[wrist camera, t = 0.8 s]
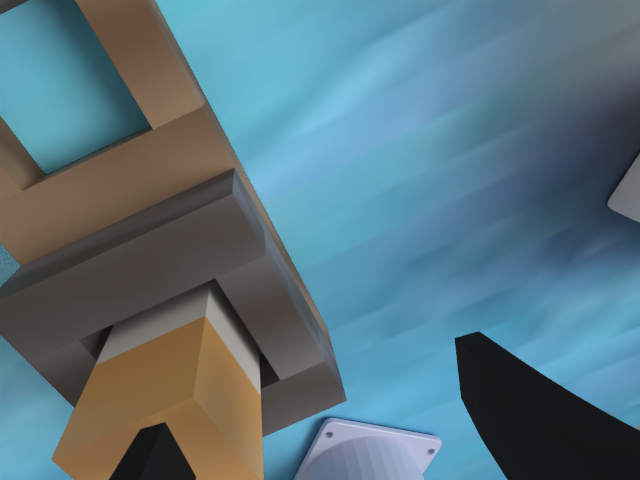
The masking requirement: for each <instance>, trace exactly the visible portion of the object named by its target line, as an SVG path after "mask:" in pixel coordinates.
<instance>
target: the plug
mask: <svg viewBox="0 0 640 480" xmlns="http://www.w3.org/2000/svg"><path fill="white" fill-rule="evenodd" d="M163 422H166V424H167V426H168V427H169V429H170V431H171V433H172V435H173V436H174V438H175V440H176V442H177V443H178V445H179V447H180V449H181V451H182V452H183V454H184V456H185V458H186V459H187V461H188V463H189V465H190V467H191V468H192V470H193V472H194V474H195V475H196V480H264V471H263V444H262V416H261V389H260V362H259V346H258V344H257V343H256V341H255V340H254V338H253V336H252V335H251V333H250V332H249V330H248V329H247V327H246V326H245V324H244V322H243V321H242V319H241V318H240V316H239V315H238V313H237V312H236V310H235V308H234V307H233V305H232V304H231V302H230V301H229V299H228V298H227V296H226V294H225V293H224V291H223V290H222V288H221V287H220V285H219V283H218V282H217V280H216V279H215V278H214V279H212V280H210V281H208V282H205V283H203V284H201V285H199V286H197V287H194V288H192V289H190V290H188V291H186V292H183V293H181V294H179V295H177V296H174V297H172V298H170V299H168V300H166V301H163V302H161V303H159V304H157V305H155V306H152V307H150V308H148V309H146V310H144V311H141V312H139V313H137V314H135V315H132V316H130V317H128V318H126V319H124V320H121V321H119V322H117V323H115V324H114V326H113V328H112V330H111V332H110V334H109V337H108V339H107V341H106V343H105V345H104V347H103V349H102V352H101V354H100V356H99V358H98V360H97V362H96V364H95V367H94V369H93V371H92V373H91V375H90V377H89V379H88V382H87V384H86V386H85V388H84V390H83V392H82V394H81V397H80V399H79V401H78V403H77V405H76V407H75V409H74V412H73V414H72V416H71V418H70V420H69V422H68V424H67V427H66V429H65V431H64V433H63V435H62V437H61V439H60V442H59V444H58V446H57V448H56V450H55V452H54V454H53V457H52V459H51V460H52V461H53V462H54V463H56V464H57V465H58V466H59V467H60V468H61V469H62V470H64V471H65V472H66V473H67V474H68V475H69V476H70V477H72V478H73V479H74V480H109V478H110V477H111V475H112V474H113V472H114V470H115V469H116V467H117V465H118V464H119V462H120V461H121V459H122V457H123V456H124V454H125V453H126V451H127V449H128V448H129V446H130V445H131V443H132V441H133V440H134V438H135V437H136V435H137V434H138V432H139V430H140V429H143V428H146V427H150V426H153V425H156V424H160V423H163Z"/></svg>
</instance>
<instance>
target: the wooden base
mask: <svg viewBox="0 0 640 480" xmlns="http://www.w3.org/2000/svg"><path fill="white" fill-rule="evenodd" d="M26 1H28V0H0V14H2V13H4V12H6V11H8V10H10V9H12V8H14V7H16V6H18V5H20V4H22V3H24V2H26ZM75 1H76V3H77V4H78V6H79V8H80V9H81V11H82V13H83V14H84V16H85V18H86V19H87V21H88V23H89V24H90V26H91V28H92V29H93V31H94V33H95V34H96V36H97V37H98V39H99V41H100V42H101V44H102V46H103V47H104V49H105V51H106V52H107V54H108V56H109V57H110V59H111V61H112V62H113V64H114V66H115V67H116V69H117V71H118V72H119V74H120V76H121V77H122V79H123V81H124V82H125V84H126V85H127V87H128V89H129V90H130V92H131V94H132V95H133V97H134V99H135V100H136V102H137V104H138V105H139V107H140V109H141V110H142V112H143V114H144V115H145V117H146V119H147V120H148V122H149V124H150V125H151V126H149V127H147V128H145V129H143V130H141V131H138V132H136V133H134V134H132V135H130V136H128V137H126V138H124V139H121V140H119V141H117V142H115V143H113V144H111V145H109V146H107V147H104V148H102V149H100V150H98V151H96V152H94V153H92V154H90V155H87V156H85V157H83V158H81V159H79V160H77V161H75V162H73V163H70V164H68V165H66V166H64V167H62V168H60V169H58V170H56V171H53V172H51V173H49V174H47V175H45V174H44V173H43V171H42V170H41V169H40V167H39V166H38V165H37V163H36V162H35V161H34V160H33V158H32V157H31V156H30V154H29V153H28V152H27V150H26V149H25V148H24V146H23V145H22V144H21V143H20V141H19V140H18V139H17V137H16V136H15V135H14V133H13V132H12V131H11V129H10V128H9V127H8V126H7V124H6V123H5V122H4V120H3V119H2V118H1V116H0V243H1V244H2V245H3V246H4V247H5V248H6V249H7V251H8V252H9V253H10V254H11V255H12V256H13V257H14V258H15V260H16V261H17V262H18V263H19V264H20V265H21V267H20V268H19V269H18V270H17V271H16V272H15V273H14V274H13V275H12V276H11V277H10V278H9V279H8V280H7V281H6V282H5V283H4V284H3V285H2V286H1V287H0V335H1V336H2V337H3V338H5V339H6V340H7V341H8V342H9V343H10V344H11V345H12V346H13V347H14V348H15V349H16V350H17V351H18V352H19V353H20V354H21V355H22V356H23V357H24V358H25V359H26V360H27V361H28V362H29V363H30V364H31V365H32V366H33V367H34V368H35V369H36V370H37V371H38V372H39V373H40V374H41V375H42V376H43V377H44V378H45V379H46V380H47V381H48V382H49V383H50V384H51V385H52V386H53V387H54V388H55V389H56V390H57V391H58V392H59V393H60V394H61V395H62V396H63V397H64V398H65V399H66V400H67V401H68V402H69V403H70V404H71V405H72V406H73V407H74V408H75V407H76V405H77V403H78V401H79V399H80V397H81V394H82V392H83V390H84V388H85V386H86V384H87V382H88V379H89V377H90V375H91V373H92V371H93V369H94V367H95V364H96V362H97V360H98V358H99V356H100V354H101V352H102V349H103V347H104V345H105V343H106V341H107V339H108V337H109V334H110V332H111V330H112V328H113V326H114V324H115V323H117V322H119V321H121V320H124V319H126V318H128V317H130V316H132V315H135V314H137V313H139V312H141V311H144V310H146V309H148V308H150V307H152V306H155V305H157V304H159V303H161V302H163V301H166V300H168V299H170V298H172V297H174V296H177V295H179V294H181V293H183V292H186V291H188V290H190V289H192V288H194V287H197V286H199V285H201V284H203V283H205V282H208V281H210V280H212V279H214V278H215V279H216V280H217V282H218V283H219V285H220V287H221V288H222V290H223V291H224V293H225V294H226V296H227V298H228V299H229V301H230V302H231V304H232V305H233V307H234V308H235V310H236V312H237V313H238V315H239V316H240V318H241V319H242V321H243V322H244V324H245V326H246V327H247V329H248V330H249V332H250V333H251V335H252V336H253V338H254V340H255V341H256V343H257V344H258V346H259V362H260V389H261V416H262V437H264V436H266V435H269V434H271V433H273V432H276V431H278V430H280V429H282V428H285V427H287V426H289V425H292V424H294V423H296V422H299V421H301V420H303V419H306V418H308V417H310V416H312V415H315V414H317V413H319V412H322V411H324V410H326V409H329V408H331V407H333V406H336V405H338V404H340V403H342V402H345V401H347V399H346V395H345V392H344V388H343V384H342V381H341V377H340V373H339V370H338V366H337V362H336V359H335V355H334V352H333V348H332V344H331V341H330V337H329V333H328V330H327V327H326V325H325V323H324V321H323V319H322V317H321V315H320V313H319V312H318V310H317V308H316V306H315V304H314V302H313V300H312V298H311V296H310V294H309V293H308V291H307V289H306V287H305V285H304V283H303V281H302V279H301V277H300V275H299V273H298V272H297V270H296V268H295V266H294V264H293V262H292V260H291V258H290V256H289V254H288V253H287V251H286V249H285V247H284V245H283V243H282V241H281V239H280V237H279V235H278V234H277V232H276V230H275V228H274V226H273V224H272V222H271V220H270V218H269V216H268V214H267V213H266V211H265V209H264V207H263V205H262V203H261V201H260V199H259V197H258V195H257V194H256V192H255V190H254V188H253V186H252V184H251V182H250V180H249V178H248V176H247V175H246V173H245V171H244V169H243V167H242V165H241V163H240V161H239V159H238V157H237V155H236V154H235V152H234V150H233V148H232V146H231V144H230V142H229V140H228V138H227V136H226V135H225V133H224V131H223V129H222V127H221V125H220V123H219V121H218V119H217V117H216V116H215V114H214V112H213V110H212V108H211V106H210V104H209V102H208V100H207V98H206V96H205V95H204V93H203V91H202V89H201V87H200V85H199V83H198V81H197V79H196V77H195V76H194V74H193V72H192V70H191V68H190V66H189V64H188V62H187V60H186V58H185V57H184V55H183V53H182V51H181V49H180V47H179V45H178V43H177V41H176V39H175V38H174V36H173V34H172V32H171V30H170V28H169V26H168V24H167V22H166V20H165V18H164V17H163V15H162V13H161V11H160V9H159V7H158V5H157V3H156V1H155V0H75Z"/></svg>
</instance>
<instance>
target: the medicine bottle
mask: <svg viewBox="0 0 640 480" xmlns="http://www.w3.org/2000/svg"><path fill="white" fill-rule="evenodd" d="M607 204H608V207H609V208H611V209H612V210H614V211H616V212H618V213H620V214H622V215H624V216H626V217H628V218H631V219H633V220H635V221H637V222H639V223H640V153H639V155H638V156H637V158H636V159H635V161H634V162H633V164H632V165H631V167H630V168H629V170H628V171H627V173H626V174H625V176H624V177H623V179H622V180H621V182H620V183H619V185H618V186H617V188H616V189H615V191H614V192H613V194H612V195H611V197H610V198H609V200H608V203H607Z"/></svg>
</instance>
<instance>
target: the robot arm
mask: <svg viewBox="0 0 640 480" xmlns="http://www.w3.org/2000/svg"><path fill="white" fill-rule="evenodd" d="M455 346H456V355H457V364H458V373H459V382H460V391H461V399H462V401H463V403H464V405H465V407H466V409H467V411H468V413H469V415H470V417H471V419H472V421H473V423H474V425H475V427H476V429H477V431H478V433H479V435H480V437H481V438H482V440H483V442H484V443H485V445H486V446H487V448H488V450H489V451H490V453H491V454H492V456H493V457H494V459H495V461H496V462H497V464H498V465H499V467H500V469H501V470H502V472H503V473H504V475H505V476H506V478H507V479H508V480H640V431H639V430H637V429H635V428H633V427H632V426H630V425H628V424H626V423H624V422H622V421H620V420H618V419H617V418H615V417H613V416H611V415H609V414H608V413H606V412H604V411H602V410H601V409H599V408H597V407H595V406H594V405H592V404H590V403H588V402H587V401H585V400H583V399H581V398H580V397H578V396H576V395H575V394H573V393H571V392H570V391H568V390H567V389H565V388H563V387H562V386H560V385H559V384H557V383H555V382H554V381H552V380H551V379H549V378H548V377H546V376H544V375H543V374H541V373H540V372H538V371H537V370H535V369H534V368H532V367H530V366H529V365H527V364H526V363H525V362H523V361H522V360H520V359H519V358H517V357H516V356H514V355H513V354H511V353H510V352H508V351H507V350H505V349H504V348H503V347H501V346H500V345H498V344H497V343H495V342H494V341H492V340H491V339H490V338H488V337H487V336H485V335H484V334H482V333H480V332H479V331H478V332H475V333H471V334H468V335H464V336H461V337H457V338H455ZM327 432H328V433H327ZM441 445H442V443H441V440H440V438H439V437H437V436H433V435H428V434H422V433H416V432H411V431H405V430H400V429H394V428H388V427H383V426H377V425H372V424H366V423H360V422H355V421H349V420H344V419H338V418H328V419H326V420H325V421H324V422H323V424H322V426H321V428H320V430H319V431H318V433H317V435H316V437H315V439H314V441H313V443H312V445H311V447H310V449H309V451H308V452H307V454H306V456H305V458H304V460H303V462H302V464H301V466H300V468H299V470H298V472H297V473H296V475H295V477H294V479H293V480H424V478H423V475H422V474H423V473H424V471H425V470H426V468H427V467H428V465H429V464H430V462H431V461H432V459H433V458H434V456H435V455H436V453H437V452H438V450H439V449H440V447H441ZM109 480H196V475H195V474H194V472H193V470H192V468H191V467H190V465H189V463H188V461H187V459H186V458H185V456H184V454H183V452H182V451H181V449H180V447H179V445H178V443H177V442H176V440H175V438H174V436H173V435H172V433H171V431H170V429H169V427H168V426H167V424H166V422H163V423H160V424H156V425H153V426H150V427H146V428H143V429H140V430H139V432H138V434H137V435H136V437H135V438H134V440H133V441H132V443H131V445H130V446H129V448H128V449H127V451H126V453H125V454H124V456H123V457H122V459H121V461H120V462H119V464H118V465H117V467H116V469H115V470H114V472H113V474H112V475H111V477H110V478H109Z"/></svg>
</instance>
